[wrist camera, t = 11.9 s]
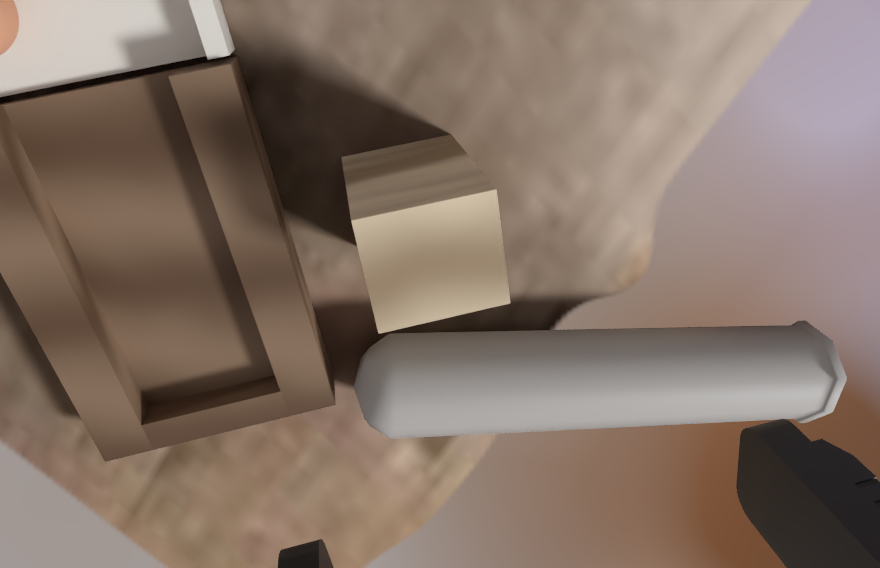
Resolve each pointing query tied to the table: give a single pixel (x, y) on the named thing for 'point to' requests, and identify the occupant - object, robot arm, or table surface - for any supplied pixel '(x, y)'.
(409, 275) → the block
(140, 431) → the slot board
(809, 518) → the robot arm
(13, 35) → the ball
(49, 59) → the tray
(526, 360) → the tube
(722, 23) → the table surface
